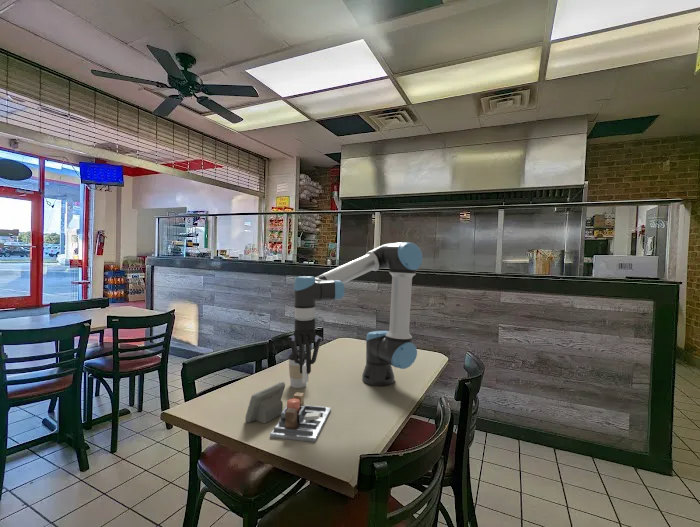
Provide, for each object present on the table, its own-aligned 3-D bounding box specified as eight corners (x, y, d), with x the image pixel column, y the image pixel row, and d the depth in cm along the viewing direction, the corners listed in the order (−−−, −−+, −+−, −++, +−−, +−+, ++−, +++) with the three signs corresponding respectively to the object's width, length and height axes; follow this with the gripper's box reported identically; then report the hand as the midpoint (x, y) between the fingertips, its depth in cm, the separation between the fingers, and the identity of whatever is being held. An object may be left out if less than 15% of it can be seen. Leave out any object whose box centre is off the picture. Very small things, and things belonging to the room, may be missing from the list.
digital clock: (277, 405, 133) (277, 378, 133) (291, 412, 127) (292, 384, 127) (239, 419, 121) (239, 390, 121) (253, 428, 115) (253, 397, 115)
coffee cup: (304, 389, 149) (304, 355, 148) (285, 387, 150) (285, 354, 150) (311, 382, 157) (311, 349, 157) (292, 380, 159) (292, 348, 159)
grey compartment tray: (330, 410, 129) (330, 399, 129) (315, 442, 107) (315, 428, 107) (292, 407, 131) (292, 396, 131) (270, 437, 110) (270, 423, 110)
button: (301, 407, 122) (301, 399, 121) (297, 413, 117) (297, 404, 117) (289, 406, 122) (289, 398, 122) (285, 411, 118) (285, 403, 118)
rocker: (320, 415, 120) (320, 411, 120) (318, 419, 117) (318, 415, 117) (307, 416, 120) (306, 413, 120) (304, 420, 118) (304, 417, 118)
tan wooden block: (303, 408, 127) (303, 393, 127) (301, 411, 125) (301, 396, 124) (296, 407, 128) (296, 392, 128) (293, 411, 125) (293, 395, 125)
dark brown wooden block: (296, 425, 114) (297, 408, 114) (294, 430, 111) (294, 412, 111) (288, 425, 115) (288, 408, 115) (285, 429, 112) (285, 412, 112)
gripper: (324, 317, 128) (325, 379, 128) (291, 316, 130) (291, 377, 131) (319, 321, 120) (320, 387, 121) (284, 319, 122) (285, 384, 123)
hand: (305, 381), depth 126 cm, fingers closed
